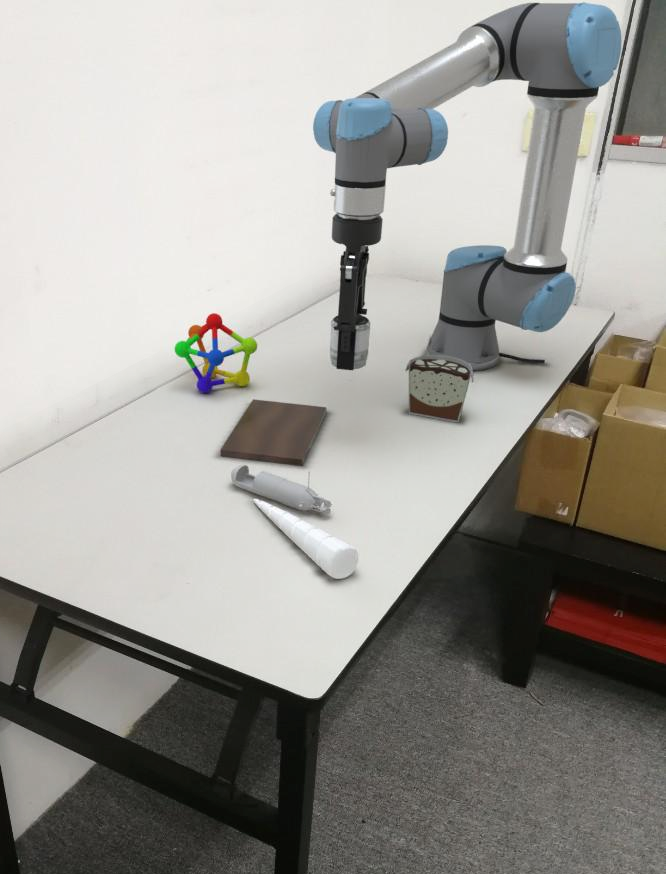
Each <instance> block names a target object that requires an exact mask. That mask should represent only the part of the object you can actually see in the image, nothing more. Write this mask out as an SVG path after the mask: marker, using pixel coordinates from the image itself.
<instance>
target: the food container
mask: <svg viewBox="0 0 666 874" xmlns="http://www.w3.org/2000/svg"><path fill="white" fill-rule="evenodd" d="M406 364H407V365H406V367H405V372H408V415H415V416H420V417H425V418H430V419H437V420H443V421H445V422H446V421H447V422H451V423H452V422H453V423H459V422H460V420H461V415H462V412H463V407H464V404H465V400H466V396H467V393H468V388H469V385H470V382H471V383H474V370H472V367H471V365H470V364H468V363H467V362H465V361H463V360H461V359H458V358H454V357H449V356H442V355H426V354H425V355H419V356H416V357H413V358H411V359H409V360H408V363H406Z"/></svg>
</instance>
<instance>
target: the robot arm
mask: <svg viewBox="0 0 666 874" xmlns="http://www.w3.org/2000/svg"><path fill="white" fill-rule="evenodd" d="M621 53H622V30H621V25H620V21H618V18H617V16H616V14H615V12H614V11H613V10H612V9H611V8H610V7H608V6H606V5H602V4H596V3H589V2H584V1H582V2H568V3H564V2H563V3H562V2H561V3H559V2H557V3H555V2H552V3H551V2H542V3H540V2H525V3H522V4H517V5H514V6H512V7H509V8H506V9H503V10H502V11H499V12H496V13H494V14H492V15H490V16H488V17H486V18H484V19H482V20H480V21H478V22H476V23H475V24H472V25H471V26H469V27H468V28H466V29H463V31H462V32H461V33H460V34H459V36H458V37H457V39H456V41H455V42H453V43H451V44H450V45H448V46H446V47H444V48H442V49H441V50H439V51H437V52H435V53H433V54H432V55H430V56H428V57H427V58H424V59H422V60H421V61H418V62H417V63H415V64H413V65H412V66H410V67H408V68H406V69H405V70H402V71H401V72H399V73H397V74H396V75H394V76H392V77H390V78H388V79H386V80H385V81H383V82H381V83H379V84H377V85H376V86H374V87H372V88H370V89H368V90H366V91H365V92H363V93H361V94H359V95H358V96H356V97H352V98H351V97H350V98H345V100H342V99H337V100H329V101H326V102H324V103H323V104H322V105H321V106H320V107H319V108H318V109H317V111H316V113H315V116H314V117H313V118H314V119H313V124H312V130H313V131H312V132H313V136H314V140H315V142H316V144H317V146H319V148H321V150H322V149H323V150H324V151H328V152H331V153H334V155H335V162H334V163H335V167H334V168H335V169H334V170H335V171H334V188H333V189H330V191H329V195H330V196H331V197H334V199H333V211H334V213H335V214H334V215H333V216H332V222H331V239H332V241H333V242H334V243H336V244H338V245H343V246H345V250H343V252H342V254H340V255H341V256H340V263H339V265H340V267H339V272H340V278H339V296H338V311H337V316H338V323H337V326H334V330H339V332H338V349H337V366H336V367H335V369H336V370H343V371H354V370H355V369H354V357H355V342H356V326H355V323H356V314H360V315H362V316H365V315H366V316H367V315H368V308H364V307H365V304H366V302H365V299H366V297H365V296H366V282H367V275H368V265H369V260H370V252H369V246H374V245H377V244H379V243H380V241H381V240H382V231H383V218H382V216H381V214H383V213H384V211H385V210H384V209H385V198H386V186H387V185H386V184H387V183H386V181H387V172H388V169H392V168H399V167H400V168H401V167H407V166H413V165H414V166H415V165H418V166H421V165H424V164H426V163H430V162H433V161H435V160H437V159H438V158H440V156H442V154H443V153H444V151H445V149H446V147H447V144H448V139H449V127H448V123H447V121H446V119H445V117H444V115H442V113H440V111H438V110H436V109H435V108H437V107H440V106H441V105H442V104H445V103H446V102H448V101H449V100H451V99H453V98H455V97H456V96H458V95H460V94H462V93H463V92H465V91H467V90H469V89H471V88H472V87H475V88H482V87H486V86H487V85H489V84H491V83H494V82H496V81H504V80H505V81H507V80H510V81H511V80H513V81H524V82H528V83H527V90H526V91H527V92H526V97H527V98H528V99H529V101H530V102H531V104H532V105H533V112H532V120H531V127H530V134H529V140H528V146H527V152H526V153H527V154H526V160H525V167H524V174H523V181H522V187H521V195H520V201H519V208H518V213H517V222H516V228H515V235H514V242H513V246H512V247H511V248H510V249H509V250H507V249H506V248H505V247H504V246H501V245H490V244H489V245H487V244H485V245H467V246H461V247H456V248H454V249H451V251H449V253H448V254H447V256H446V260H445V266H444V269H443V277H442V287H441V297H440V306H439V315H438V320H437V323H436V325H435V328H434V330H433V332H432V334H430V335H429V337H428V340H427V345H426V349H425V356H426V355H442V356H449V357H454V358H458V359H461V360H463V361H465V362H467V363H468V364H470V365H471V367H472V370H473V371H483V370H487V369H490V368H493V367H494V366H496V365H498V363H499V357H500V358H503V359H509V360H512V361H516V362H522V363H526V364H527V363H530V364H545V363H546V359H540V358H539V359H535V358H524V357H519V356H516V355H511V354H508V353H502V352H500V348H499V342H498V341H499V340H498V336H497V330H496V321H498V322H501V323H505V324H508V325H511V326H514V327H517V328H520V329H521V330H523V331H532V332H536V333H544V332H548V331H550V330H552V329H553V328H554V327H556V326H557V325H558V324H559V323H560V322H561V321H562V319H563V318H564V317H565V316H566V314H567V312H568V311H569V309H570V307H571V305H572V304H573V300H574V297H575V294H576V288H577V284H576V279H575V277H574V276H573V275H572V274H571V273H569V272H566V271H567V265H568V257H567V256H566V254H565V253H564V252H563V250H562V245H563V241H564V240H563V239H564V234H565V228H566V224H567V217H568V211H569V206H570V201H571V194H572V189H573V184H574V178H575V173H576V172H575V171H576V166H577V160H578V156H579V149H580V144H581V138H582V133H583V127H584V122H585V116H586V110H587V107H588V106H589V105H590V104H592V102H594V100H596V99H597V98H598V96H599V89H600V88H601V87H603V86H605V85H606V84H607V83H609V82H610V81H611V80H612V78H613V77H614V73H615V72H614V71H616V70H617V68H618V66H619V63H620V58H621Z"/></svg>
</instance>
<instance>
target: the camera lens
mask: <svg viewBox="0 0 666 874" xmlns="http://www.w3.org/2000/svg"><path fill="white" fill-rule="evenodd" d="M337 323H338V315H336V316H334V317H333V318H332V320H331V322H330V338H329V339H330V341H329V357H330V364H331V365H332V366H333V367H335V368H336V366H337V349H338V332H339V330H334V326H337ZM355 326H356V342H355V357H354V369H353V370H359V369H362V368H364V367H366V365H367V360H368V356H369V347H370V335H371V333H370V332H371V322H370V319H369V318H367V317H366V316H365V315H362V314H356V323H355Z"/></svg>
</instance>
